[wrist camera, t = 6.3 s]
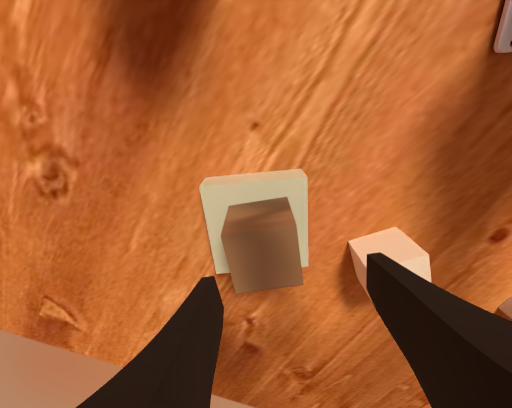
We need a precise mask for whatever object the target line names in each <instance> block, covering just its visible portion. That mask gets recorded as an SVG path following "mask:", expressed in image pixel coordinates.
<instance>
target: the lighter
mask: <svg viewBox="0 0 512 408" xmlns="http://www.w3.org/2000/svg"><path fill="white" fill-rule="evenodd" d="M498 309H499V310H501V311H502V312H503V313H504V314H505V315H507V316H508V317H509V318H510V319H511V320H512V298H509V299H508V300H506V301H505V302H504V303H503V304H501V305H500V306H499V307H498Z"/></svg>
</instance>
